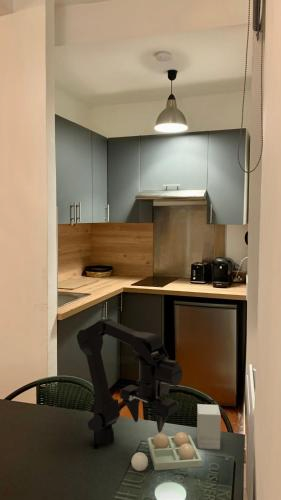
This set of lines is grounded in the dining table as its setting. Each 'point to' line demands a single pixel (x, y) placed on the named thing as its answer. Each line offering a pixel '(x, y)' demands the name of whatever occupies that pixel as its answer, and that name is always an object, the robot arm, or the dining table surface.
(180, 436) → the brown egg back right
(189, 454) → the brown egg front right
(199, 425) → the supplement box
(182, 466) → the egg tray
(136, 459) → the white egg
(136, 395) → the robot arm
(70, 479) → the dining table surface
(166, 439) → the brown egg back left
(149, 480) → the dining table surface
